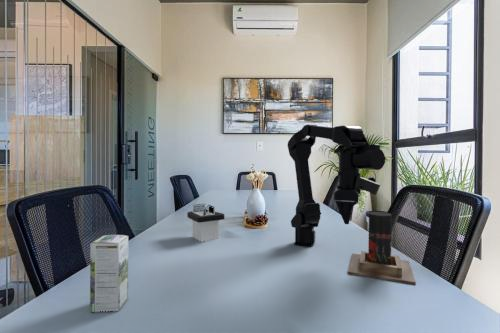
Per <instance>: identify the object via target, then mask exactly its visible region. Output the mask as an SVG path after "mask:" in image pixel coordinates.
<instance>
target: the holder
mask: <svg viewBox="0 0 500 333" xmlns="http://www.w3.org/2000/svg"><path fill="white" fill-rule="evenodd" d="M347 274H348V275H353V276H359V277H366V278H372V279H373V278H374V279H379V280H384V281H389V282H390V281H392V282H397V283H403V284H404V283H405V284H410V285H416V284H417V283H416V279H415V276H414V273H413V269H412V267H411V264H410V261H409V260H405V259H401V258H400V256H399V255H394V254H391V265H385V264H378V263H371V262H368V251H364V250H362V251H361V252H360V253H351V258H350V262H349V266H348V270H347Z"/></svg>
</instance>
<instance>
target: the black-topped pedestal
mask: <svg viewBox="0 0 500 333" xmlns="http://www.w3.org/2000/svg"><path fill="white" fill-rule="evenodd" d="M215 207H216V206H213V205H211V204H209V203H208V204H206V203H198V204H195V205H192V211H188V212H187V218H188V219H190V220H192V222H191V223H192V238H194V237H195V238H196V239H195V238H194V239H195V240H197V239H198V240H199V241H198V240H197V241H198V242H200V241H201V242H200V243H204V242H203V241H206V242H210V240H212V241H216V240H215V239H218V240H219V239H220V237H219V232H220V230H219V228H220V226H219V225H220V220H225V213H222V212H218V211H216V210H215V209H216V208H215Z"/></svg>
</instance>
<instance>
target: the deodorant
mask: <svg viewBox="0 0 500 333" xmlns="http://www.w3.org/2000/svg"><path fill="white" fill-rule="evenodd" d="M392 224H393V214H392V213H390V212H384V211H370V212H369V213H368V251H367V252H368V262H371V263H378V264H385V265H391V255H392V241H393V240H392V238H393V237H392V236H393V235H392V234H393V233H392V229H393V225H392Z"/></svg>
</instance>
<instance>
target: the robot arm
mask: <svg viewBox="0 0 500 333" xmlns="http://www.w3.org/2000/svg"><path fill="white" fill-rule="evenodd" d="M317 138H320V139H321V138H322V139H327V140H331V141H332V143H334V144H337V145H338V146H337V148H335V149H334V151H333V153H334V154H338V172H337V176H338V185H337V190H336V191H334V193H333V194H334V195H333V201H334V202H335V204H336V206H337V208H338V211H339V213H340V215H341V219H342V220H343V223H344V225H349V224H350V219H351V218H352V216H353V211H354V210H353V209H354V207H355V205H357V204H358V203H359V199H360V197H361V194H362V193H361V192H362V190H363V191H365V192H368V193H370V194H371V195H374V196H376V195H377V194H378V192H379V190H380V187H381V183H379V182H377V180H376V178H375V177H373V176H369V177H368V178H366V177H362V176H361V175H362V174H361V172H360V170H369V171H370V170H371V171H372V170H373V171H379V170H382V168H383V167H385V166H384V165H385V164H386V155H385V153H384V151H383V150H382V149H381V145H380V144H377V143H373V144H370V142H369V141H368V139H367V137H366V136H365V134H364V131H363V129H362V127H361V126H356V125H355V126H353V125H337V126H333V127H332V126H331V127H330V126H321V125H317V124H306V125H305V124H304V126H302V127H301V129H300V130H298V131H297V132H295V133H294V134H292V136H291V137H290V139H289V140H288V141H287V149H288V153H289V156H290V157H291V159H292V160H293V162H294V166H295V167H294V168H295V175H296V176H295V178H296V184H297V192H298V201H297V204H296V206H295V215H294V216H293V217H292V219H291V220H290V225H291V227H292V228H295V230H294V231H295V232H294V239H295V240H294V242H293V245H296V246H304V247H313V245H314V244H315V243H316V231H315V228H317V227H319V225H320V224H319V223H320V220H321V215H322V212H321V205H320V203H319V202H316V201H315V199H314V196H313V189H312V181H311V171H310V165H309V160H310V156H311V155H312V147H313V146H314V145H315V144H316V140H317Z"/></svg>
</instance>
